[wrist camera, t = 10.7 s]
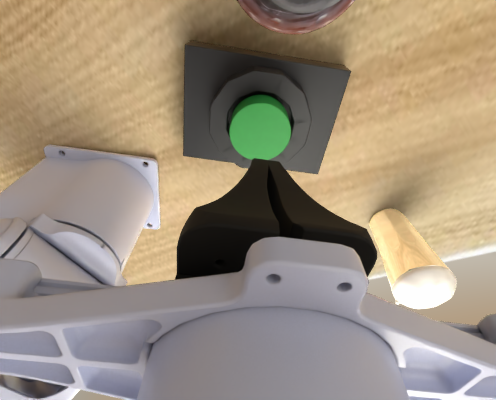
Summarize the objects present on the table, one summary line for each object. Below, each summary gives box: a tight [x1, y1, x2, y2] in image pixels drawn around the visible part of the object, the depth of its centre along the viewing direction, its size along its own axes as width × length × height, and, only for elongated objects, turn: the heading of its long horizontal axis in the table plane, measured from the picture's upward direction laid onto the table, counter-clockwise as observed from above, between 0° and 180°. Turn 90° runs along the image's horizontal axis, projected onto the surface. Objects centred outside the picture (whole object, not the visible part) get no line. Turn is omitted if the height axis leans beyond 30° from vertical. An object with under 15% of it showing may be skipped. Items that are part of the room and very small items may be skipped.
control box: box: [183, 41, 351, 174], centre depth 21 cm, size 11×8×4 cm
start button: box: [229, 95, 291, 160], centre depth 20 cm, size 4×4×2 cm
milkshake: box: [369, 208, 457, 309], centre depth 25 cm, size 4×5×10 cm
